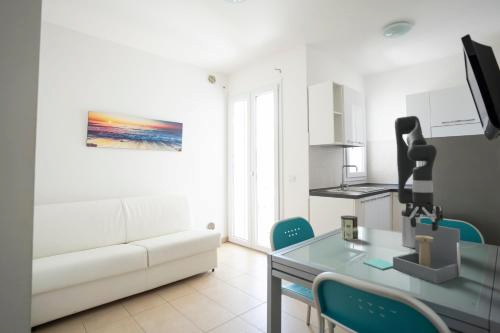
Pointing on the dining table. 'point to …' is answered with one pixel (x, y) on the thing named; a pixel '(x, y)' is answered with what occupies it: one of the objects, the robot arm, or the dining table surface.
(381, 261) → the pad
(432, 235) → the case
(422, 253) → the handle
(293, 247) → the dining table surface
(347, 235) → the coffee can
